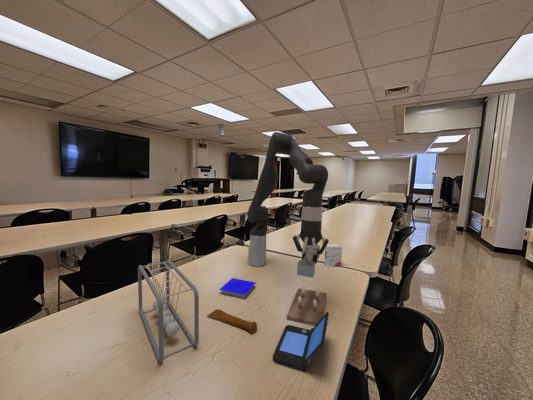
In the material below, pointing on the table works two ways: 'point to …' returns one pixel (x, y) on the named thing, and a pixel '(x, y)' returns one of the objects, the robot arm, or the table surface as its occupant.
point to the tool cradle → (307, 306)
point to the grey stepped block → (307, 263)
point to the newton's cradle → (162, 310)
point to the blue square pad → (237, 287)
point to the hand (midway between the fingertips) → (309, 263)
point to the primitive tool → (233, 320)
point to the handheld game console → (300, 344)
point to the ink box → (333, 255)
